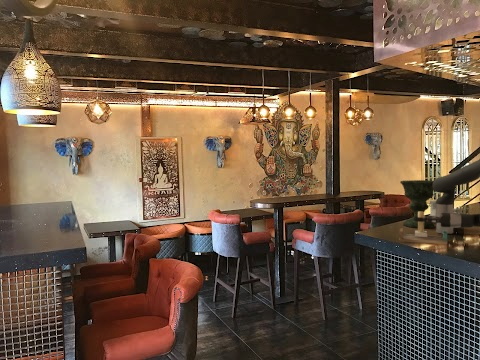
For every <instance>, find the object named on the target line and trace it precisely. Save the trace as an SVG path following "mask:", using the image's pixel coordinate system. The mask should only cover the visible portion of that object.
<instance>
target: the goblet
mask: <svg viewBox="0 0 480 360" xmlns="http://www.w3.org/2000/svg"><path fill="white" fill-rule="evenodd" d="M433 182H434V180H426V179H425V180H424V179H423V180H421V179H420V180H419V179H415V180H410V179H408V180H401V181H400V182H399V183H400V184H401V185H402V187H403V191H404V193H403V195H404V197H405V198H407V199H409V200H410V204H408V207H409V209H410V210H411V211H412V212H413V214H414V215H413V216H412V217H410V218H408V219H406V220H404V222H403V223H402V225H403V226H405V227H408V228H417V229H418V222H416V221H415V217H416V216H418V212H419V211H422V212H424V213H425V212H426V210H428V209H429V208H430V207H429V204H428V203H427V201H428V200H430V199H432V198H433V197H434V192H435V191H434V189H433V187H432V185H433ZM432 228H436V225H435V224H433V223H424V229H432Z"/></svg>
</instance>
